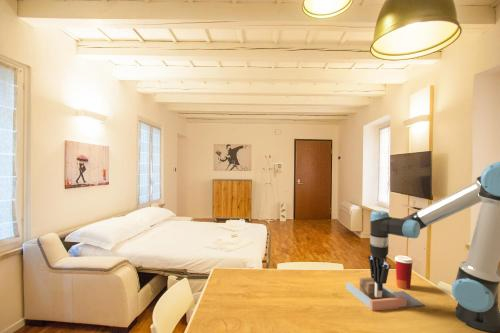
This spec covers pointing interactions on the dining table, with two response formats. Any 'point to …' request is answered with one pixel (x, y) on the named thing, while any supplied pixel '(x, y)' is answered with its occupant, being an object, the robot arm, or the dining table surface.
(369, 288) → the block
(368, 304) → the channel
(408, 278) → the coffee cup
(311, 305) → the dining table surface
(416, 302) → the coaster
